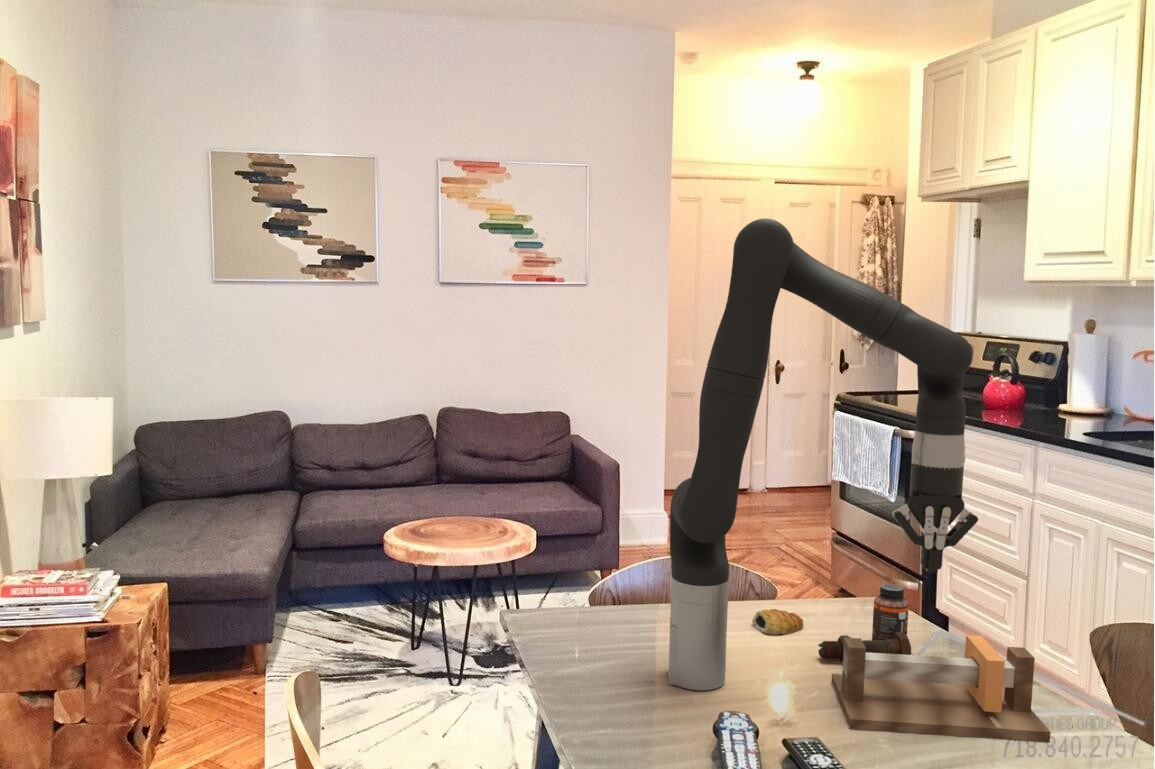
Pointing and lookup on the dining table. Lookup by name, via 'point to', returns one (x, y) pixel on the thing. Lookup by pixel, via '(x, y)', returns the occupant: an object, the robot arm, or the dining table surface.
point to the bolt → (867, 646)
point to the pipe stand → (934, 695)
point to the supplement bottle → (889, 612)
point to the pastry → (777, 622)
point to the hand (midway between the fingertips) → (930, 571)
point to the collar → (986, 673)
